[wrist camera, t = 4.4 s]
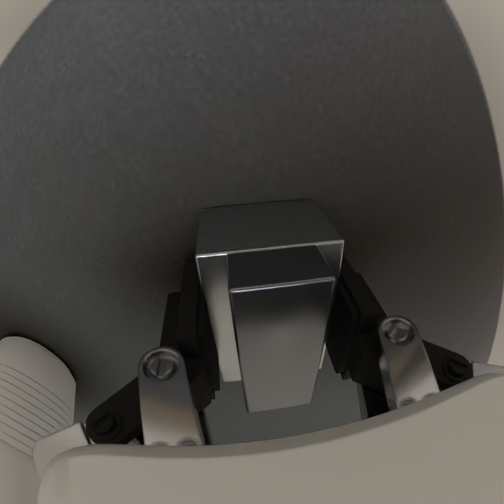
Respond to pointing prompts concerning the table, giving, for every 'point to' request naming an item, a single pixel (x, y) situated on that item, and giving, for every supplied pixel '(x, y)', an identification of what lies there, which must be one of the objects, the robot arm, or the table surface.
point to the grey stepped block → (269, 295)
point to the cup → (29, 412)
